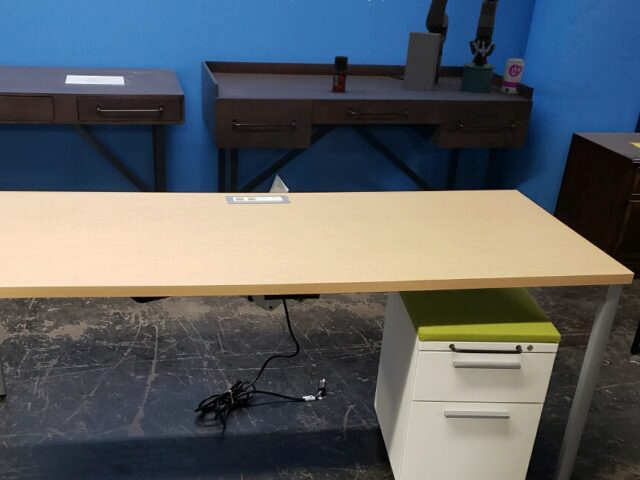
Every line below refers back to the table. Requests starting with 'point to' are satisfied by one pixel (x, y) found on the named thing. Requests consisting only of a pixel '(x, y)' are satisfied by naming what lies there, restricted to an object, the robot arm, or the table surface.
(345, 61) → the deodorant
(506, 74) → the supplement can
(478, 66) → the tin lid
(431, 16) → the robot arm
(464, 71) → the tin
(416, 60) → the cassette tape recorder
